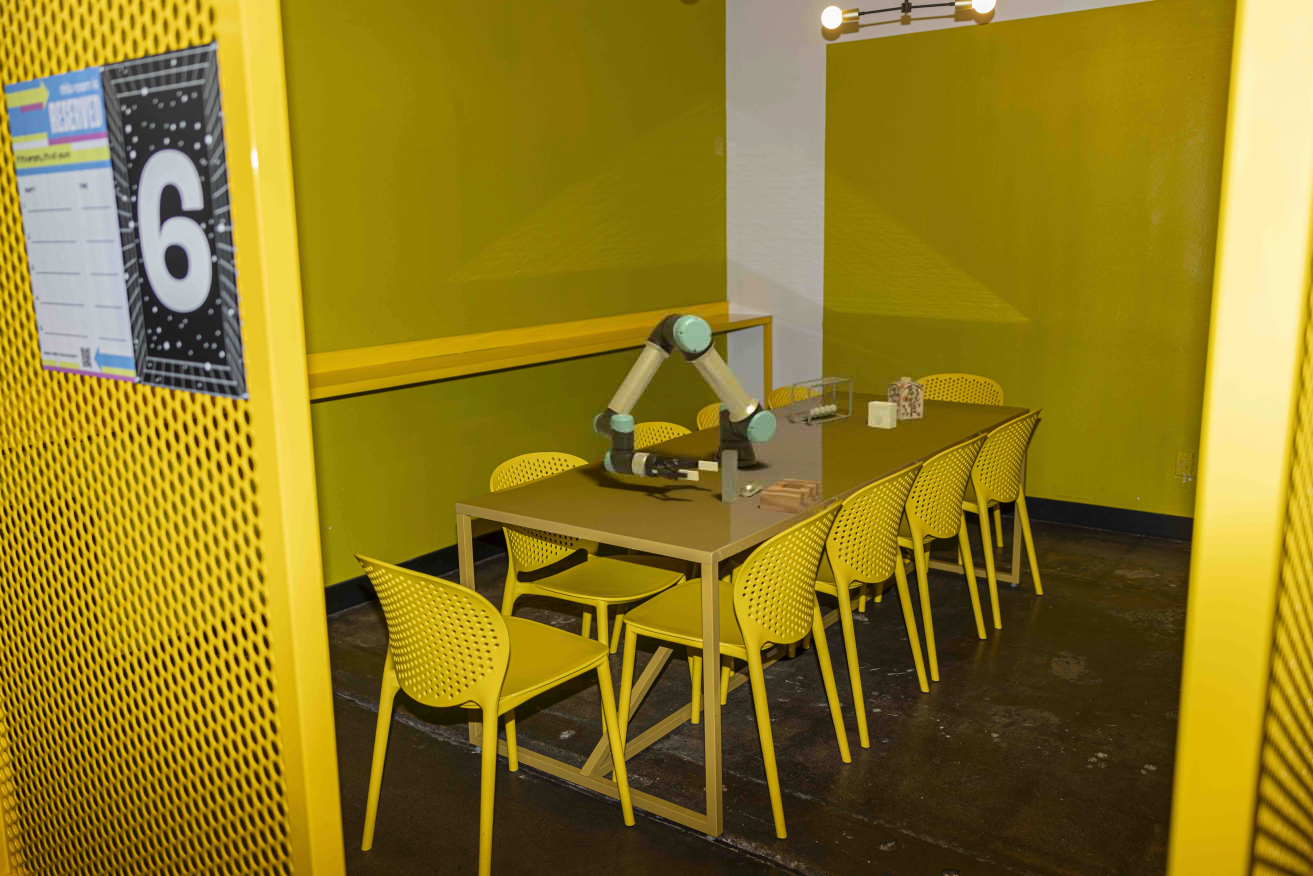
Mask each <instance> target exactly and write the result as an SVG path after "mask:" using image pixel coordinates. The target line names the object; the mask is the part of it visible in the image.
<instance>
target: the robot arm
mask: <svg viewBox="0 0 1313 876" xmlns="http://www.w3.org/2000/svg"><path fill="white" fill-rule="evenodd" d="M644 344H645V347H644V348H643V350H642V352H641V354H640V355H639V357H638V358H637V360H636V361H635V363H634V365H633V366H632V367H631V369H630V371H629V372H628V374H627V376H626V377H625V379H624V380H623V382H622V383H621V385H620V387H619V388H618V390H617V391H616V392H615V394H614V396H613V398H611V401H610V402H609V403H608V405H607V407H606V409H605V410H604V411H603V413H600V414H598V415H596V416H595V417H594V418H593V422H592V426H593V429H594V431H595V432H596V433H597V434H598V435H600V436H601V437H603V438H607V439H608V440H611V441H610V442H611V449H609V450H608V451H607V452H606V453H605V456H604V457H605V458H604V461H603V463H604V467H605V469H606V470H607V471H608V472H610V473H615V474H618V475H621V474H623V475H632V476H640V478H643V477H649V478H657V479H658V478H664V479H667V480H670V481H673V482H678V481H679V480H687V481H689V480H690V481H697V482H698V481H699V471H695V469H698V470H701V471H712V472H718V471H719V469H718V468H719V467H721V468H722V452H723V451H725V450H735V451H737V467H744V468H748V467H747V466H750V467H753V466H752V465H754V466H755V464H756V465H757V455H756V452H755V449H754V446H753V444H757V445H763V444H766V443H767V442H768V443H769V441H770V440H771V439H772V438H773V437H774V436H775V433H776V432H777V430H776V429H777V426H778V425H777V419H776V417H775V415H774V414H773V413H771V411H769V410H765V409H764V407H763V405H762V404H761V403H760V402H759V401H758V399H757V398H755V397H750V395H749V394H748V393H747V391H746V390H745V389H744V387H743V386H742V384H741V383H740V382H739V380H738V379H737V378H736V376H735V375H734V373H733V372H732V371H731V369H730V368H729V366H728V365H727V364H726V363H725V361H724V360H723V358H722V357H721V356H720V354H719V352H718V351H716V349H715V347H714V346H715V340H714V338H713V337H712V330H711V327H710V325H709V324H708V322H707V321H705V320H704V319H703V318H701V317H698V316H696V315H692V314H681V313H671V314H668V315H666V316H665V317H663V318H662V319H660V320H659V322H658V323H657V325H656V326H655V327H654V328H653V330H652V331H651V333H650V334H649V335H648V337H647V338H646V340H645V342H644ZM675 350H676V351H678V353H679V354H680V355H681V356H682V358H683V360H685V361H686V363H692V364H693V365H694V366H695V367H696V369H697V370H698V371H699V373H700V374H701V376H702V377H703V379H704V380H705V381H706V382H707V384H708V385H709V387H710V388H711V389H712V390H713V393H715V395H717V397H718V398H719V400H720V402H721V403H720V404H719V406H718V423H719V425H718V430H719V431H718V433H719V435H718V438H719V443H718V447H717V449H716V453H715V455H714V461H706V460H705V461H704V460H702V458H700V457H698V458H671V459H667V460H665V459H664V456H663V455H662V454H659V453H657V454H656V453H649V452H637V451H635V422H634V417H633V415H631V414H630V413H631V411H632V410H633V408H634V406H635V405H636V404H637V402H638V400H639V399H640V397H641V396H642V395H643V393H644V391H645V390H646V388H647V387H648V385H649V383H650V381H651V380H652V378H653V377H654V375H655V374H656V372H657V371H658V369H659V368H660V366H662V365H661V364H662V363H663V361H664V360H665V359H667V358H670V356H671V355H672V353H673V352H674V351H675ZM690 469H691V470H690ZM693 469H694V470H693Z"/></svg>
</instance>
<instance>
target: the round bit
mask: <svg viewBox="0 0 1313 876" xmlns="http://www.w3.org/2000/svg"><path fill="white" fill-rule="evenodd" d="M763 488H764V482H763V481H762V480H760V479H755V480H753V481H751V482H749V483H747V484H746V485H743V486H742V487H741V488H740V491H739V492H740V495H741V496H742V497H743V496H749V497H751V496H752V495H754V494H756V493H758V492H759V491H761V490H762V489H763Z"/></svg>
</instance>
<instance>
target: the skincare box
mask: <svg viewBox="0 0 1313 876" xmlns="http://www.w3.org/2000/svg"><path fill="white" fill-rule="evenodd" d="M867 414H868V417H867V418H868V419H867V422H868V423H867V427H868V426H871V428H877V427H878V429H888V430H889V429H893V428H897V420H898V419H897V403H890V402H888V401H877V400H874V401H869V402H868V413H867Z"/></svg>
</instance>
